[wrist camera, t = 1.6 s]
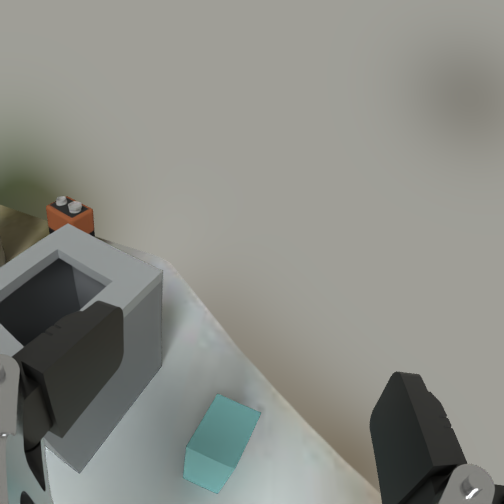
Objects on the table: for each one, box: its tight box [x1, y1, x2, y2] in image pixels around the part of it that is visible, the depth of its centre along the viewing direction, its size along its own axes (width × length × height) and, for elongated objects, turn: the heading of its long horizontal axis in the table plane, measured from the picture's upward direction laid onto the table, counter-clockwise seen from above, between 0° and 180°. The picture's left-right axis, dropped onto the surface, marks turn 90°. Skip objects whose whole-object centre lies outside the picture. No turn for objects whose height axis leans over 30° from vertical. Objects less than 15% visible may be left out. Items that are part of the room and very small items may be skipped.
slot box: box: [0, 224, 163, 474], centre depth 24 cm, size 12×16×14 cm
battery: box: [46, 196, 95, 237], centre depth 41 cm, size 4×7×10 cm, turn 66°
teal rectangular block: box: [183, 394, 261, 494], centre depth 22 cm, size 4×5×10 cm
